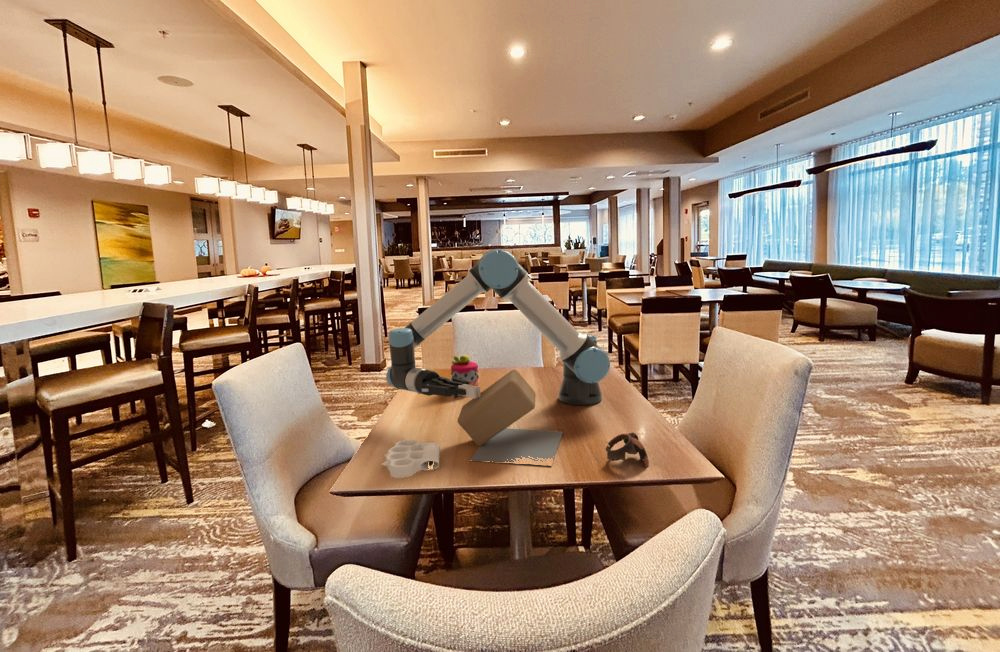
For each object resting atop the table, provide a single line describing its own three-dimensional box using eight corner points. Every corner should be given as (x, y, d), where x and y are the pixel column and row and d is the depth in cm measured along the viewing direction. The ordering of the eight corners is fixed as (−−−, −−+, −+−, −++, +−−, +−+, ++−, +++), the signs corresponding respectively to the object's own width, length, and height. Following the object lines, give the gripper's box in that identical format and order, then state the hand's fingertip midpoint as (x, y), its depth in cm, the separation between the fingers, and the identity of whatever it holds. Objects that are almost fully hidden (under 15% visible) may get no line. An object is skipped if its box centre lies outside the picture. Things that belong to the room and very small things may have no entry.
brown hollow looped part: (650, 475, 120) (632, 447, 119) (615, 484, 125) (598, 458, 124) (655, 444, 130) (639, 419, 129) (622, 454, 135) (607, 430, 134)
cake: (453, 388, 200) (451, 351, 198) (480, 388, 200) (478, 350, 198) (450, 396, 190) (448, 357, 188) (478, 395, 190) (476, 356, 187)
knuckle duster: (439, 476, 123) (377, 481, 122) (440, 448, 141) (386, 452, 139) (438, 463, 123) (376, 468, 121) (439, 437, 140) (385, 440, 139)
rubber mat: (563, 432, 148) (563, 431, 148) (551, 466, 125) (551, 465, 125) (493, 429, 153) (493, 427, 153) (470, 461, 130) (470, 459, 130)
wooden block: (483, 431, 148) (537, 393, 143) (478, 448, 139) (536, 408, 134) (461, 406, 147) (515, 366, 142) (455, 422, 137) (512, 380, 132)
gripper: (442, 388, 161) (495, 399, 145) (406, 399, 151) (459, 412, 135) (440, 364, 160) (493, 373, 143) (404, 374, 150) (457, 385, 134)
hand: (477, 392), depth 139 cm, fingers closed
